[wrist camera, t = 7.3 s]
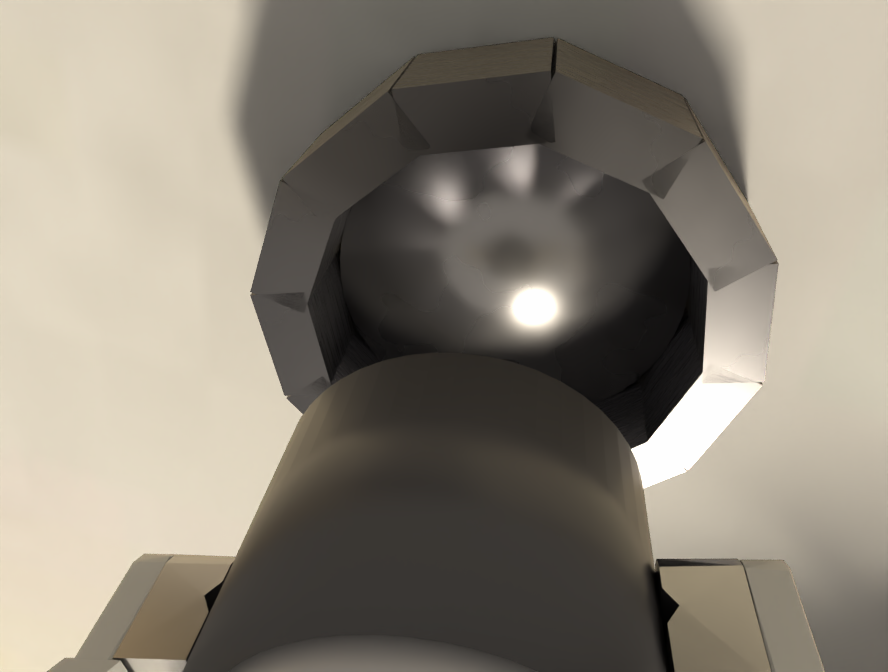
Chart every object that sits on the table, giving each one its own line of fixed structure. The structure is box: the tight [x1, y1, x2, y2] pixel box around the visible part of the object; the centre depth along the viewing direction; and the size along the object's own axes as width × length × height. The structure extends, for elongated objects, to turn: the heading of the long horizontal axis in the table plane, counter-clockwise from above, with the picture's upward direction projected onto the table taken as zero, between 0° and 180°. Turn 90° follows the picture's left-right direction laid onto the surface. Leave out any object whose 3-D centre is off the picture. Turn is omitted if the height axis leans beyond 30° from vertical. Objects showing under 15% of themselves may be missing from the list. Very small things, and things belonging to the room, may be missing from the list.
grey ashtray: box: [250, 37, 778, 488], centre depth 16 cm, size 10×10×3 cm
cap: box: [183, 353, 669, 672], centre depth 9 cm, size 6×6×4 cm
